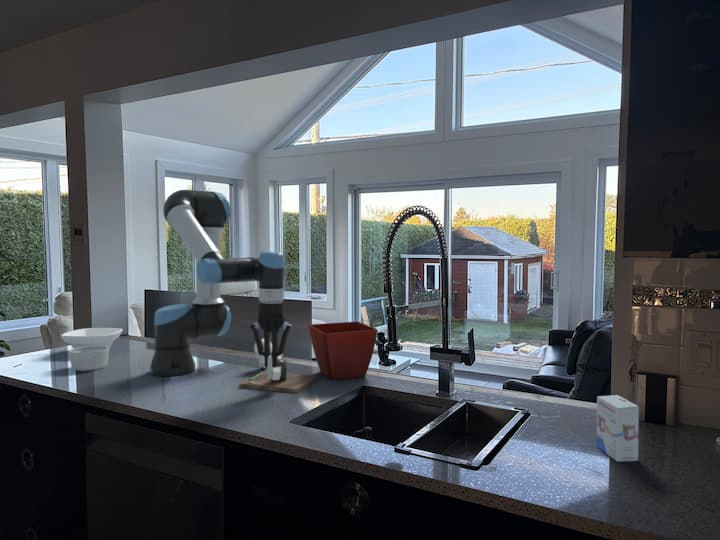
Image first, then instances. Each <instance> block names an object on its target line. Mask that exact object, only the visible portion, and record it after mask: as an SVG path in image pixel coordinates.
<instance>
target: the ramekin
mask: <svg viewBox="0 0 720 540" xmlns="http://www.w3.org/2000/svg"><path fill="white" fill-rule="evenodd" d="M109 352H110V348H109V347H108V346H86V347H79V348H75V349H73V348H72V349H70V350H69V351H68V356H69V360H70V365H71V368H72V370H74V371H77V372H89V371H96V370H100V369H103V368H106V366H107V365H108V363H109V362H108V361H109Z"/></svg>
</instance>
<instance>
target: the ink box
mask: <svg viewBox="0 0 720 540" xmlns="http://www.w3.org/2000/svg"><path fill="white" fill-rule="evenodd" d="M639 408H640V407H639V405H637V404H635V403H633V402H631V401H629V400H628V399H626V398H624V397H622V396H621V395H618V394H615V395H597V397H596V447H597V448H598V449H600V450H601V451H602V452H604V453H605V454H607V456H609V457H611V458H612V460H613V459H614V460H615V461H616V462H621V463H622V462H637V461H639V428H640V427H639V417H640V415H639V414H640V413H639V412H640V409H639Z"/></svg>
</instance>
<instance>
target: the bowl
mask: <svg viewBox="0 0 720 540" xmlns="http://www.w3.org/2000/svg"><path fill="white" fill-rule="evenodd" d="M122 332H123V328H119V327H88V328H79V329H75V330H70V331H67V332H63V334H61V335H60V338H61V339H62V340H63V341H64V343H65V344H69V345H70V347H71V348H72V349H75V348H79V347H86V346H108V347H109V349H110V348H111V346H112V345H113V343H114V341H115V340H117V339H119V337H120V335H121V334H122Z"/></svg>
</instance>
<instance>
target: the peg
mask: <svg viewBox="0 0 720 540" xmlns="http://www.w3.org/2000/svg"><path fill="white" fill-rule="evenodd" d="M283 356H284V353H283V354H282V355H280V356H277V366H276V367H274V370H273V372H272V379H271V380H273V381H283V380H286V379H287V374H288V373H287V371H288V370H287V369H288V367H287V366H288V363H287V362H288V361H287V359H285V358H283Z"/></svg>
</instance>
